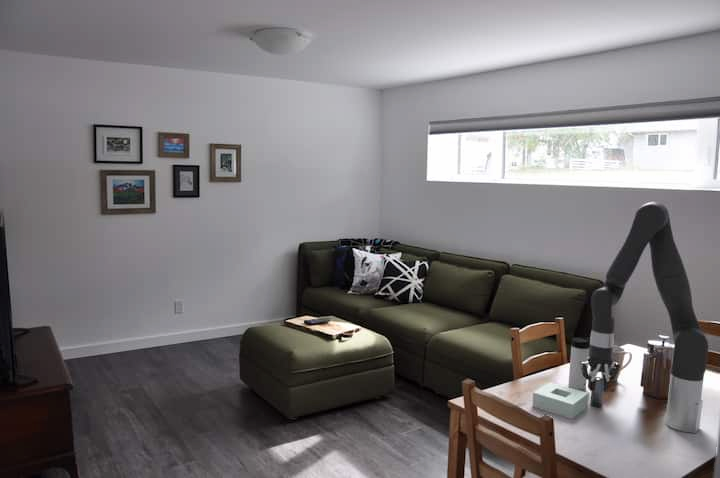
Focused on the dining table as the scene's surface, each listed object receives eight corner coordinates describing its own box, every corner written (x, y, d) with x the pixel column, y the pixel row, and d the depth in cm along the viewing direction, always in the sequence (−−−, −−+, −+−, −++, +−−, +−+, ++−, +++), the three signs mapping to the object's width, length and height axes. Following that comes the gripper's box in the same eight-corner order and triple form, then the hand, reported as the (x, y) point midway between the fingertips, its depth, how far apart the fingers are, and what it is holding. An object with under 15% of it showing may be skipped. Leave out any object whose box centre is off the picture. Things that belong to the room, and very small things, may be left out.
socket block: (587, 406, 196) (588, 393, 195) (571, 418, 186) (573, 404, 185) (549, 395, 205) (550, 382, 205) (532, 406, 195) (533, 392, 194)
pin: (604, 405, 197) (606, 378, 196) (600, 409, 194) (602, 381, 193) (592, 402, 200) (594, 375, 198) (588, 405, 197) (590, 378, 195)
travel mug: (589, 392, 209) (593, 340, 207) (571, 391, 209) (575, 340, 207) (582, 385, 215) (587, 335, 213) (565, 385, 215) (569, 335, 213)
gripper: (616, 340, 198) (611, 386, 200) (577, 340, 197) (573, 386, 199) (627, 347, 191) (622, 395, 193) (586, 346, 190) (582, 394, 192)
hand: (597, 390), depth 196 cm, fingers closed on pin, 4 cm apart
